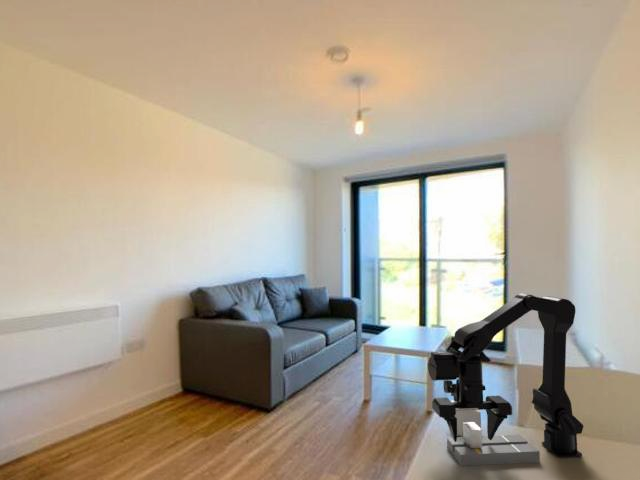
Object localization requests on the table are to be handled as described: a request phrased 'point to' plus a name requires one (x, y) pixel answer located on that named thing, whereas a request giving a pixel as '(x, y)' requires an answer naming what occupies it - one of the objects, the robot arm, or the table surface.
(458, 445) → the slider console
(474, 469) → the table surface
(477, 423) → the medicine bottle
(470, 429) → the fader tab
